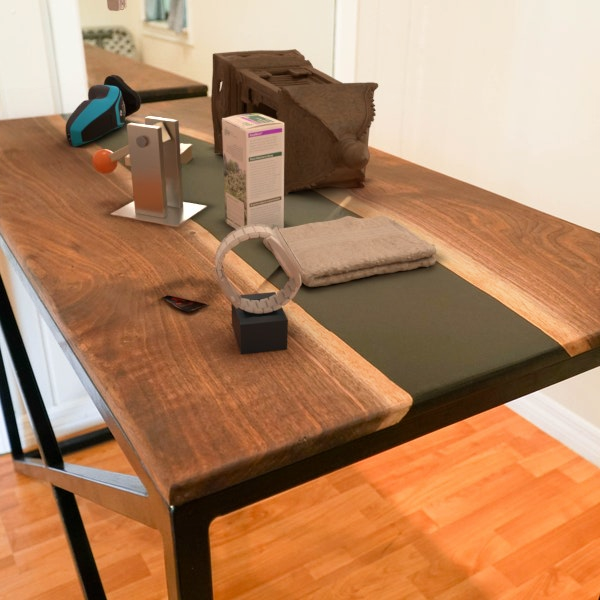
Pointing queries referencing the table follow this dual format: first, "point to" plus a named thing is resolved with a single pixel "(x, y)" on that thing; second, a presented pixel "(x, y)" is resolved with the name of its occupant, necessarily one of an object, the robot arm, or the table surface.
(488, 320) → the table surface
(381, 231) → the washcloth
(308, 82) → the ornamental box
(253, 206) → the syrup box
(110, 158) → the switch lever
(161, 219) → the switch bracket
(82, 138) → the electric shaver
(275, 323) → the watch
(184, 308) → the dark red faceted gem
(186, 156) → the control box
